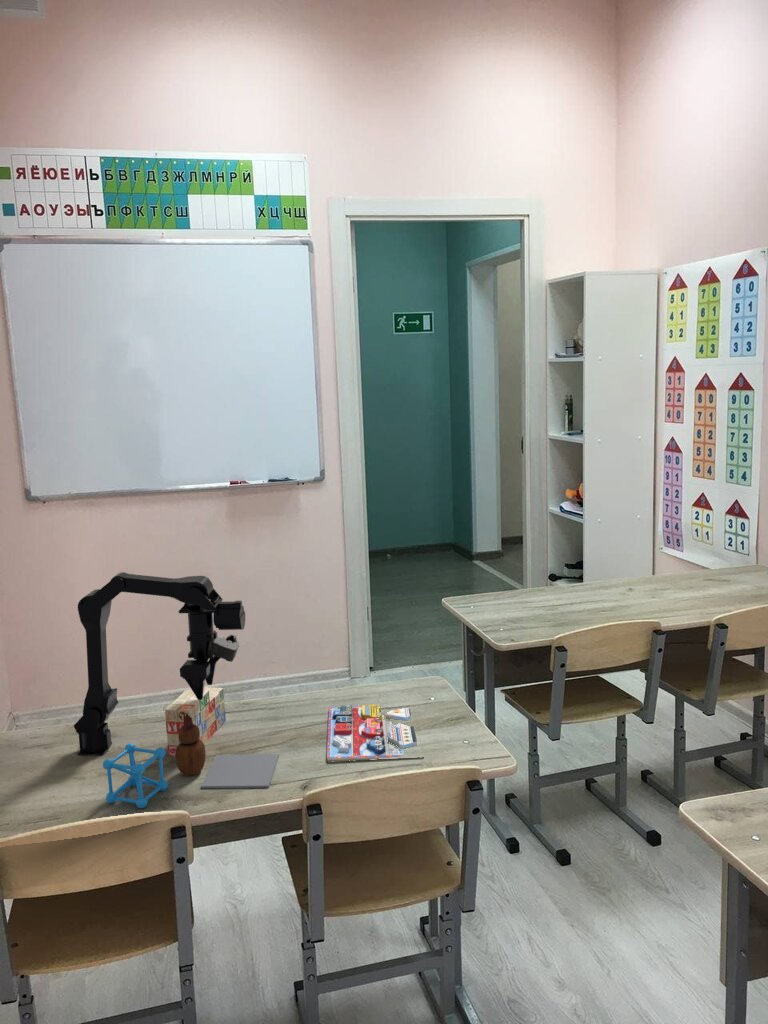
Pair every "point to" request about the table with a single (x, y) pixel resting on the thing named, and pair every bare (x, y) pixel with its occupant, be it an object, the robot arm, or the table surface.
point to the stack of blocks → (195, 715)
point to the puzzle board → (367, 733)
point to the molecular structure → (135, 775)
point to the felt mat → (241, 771)
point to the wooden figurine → (190, 749)
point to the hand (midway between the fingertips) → (205, 691)
